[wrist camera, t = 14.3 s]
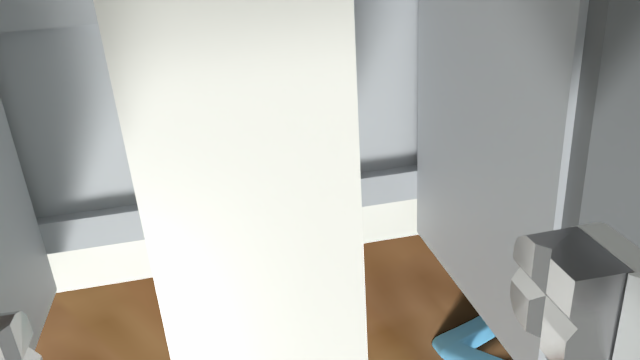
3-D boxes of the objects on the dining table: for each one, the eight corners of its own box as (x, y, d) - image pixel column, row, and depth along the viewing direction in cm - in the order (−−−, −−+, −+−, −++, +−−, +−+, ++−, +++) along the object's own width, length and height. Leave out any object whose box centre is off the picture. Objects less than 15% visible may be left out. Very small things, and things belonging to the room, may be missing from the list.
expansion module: (281, -48, 18) (352, -30, 10) (304, 227, 23) (369, 394, 14) (131, -36, 18) (82, -6, 10) (183, 246, 22) (179, 433, 14)
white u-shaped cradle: (574, -131, 22) (955, -191, 11) (539, 203, 27) (767, 382, 17) (-283, -83, 17) (-1079, -103, 6) (-111, 306, 23) (-379, 642, 12)
